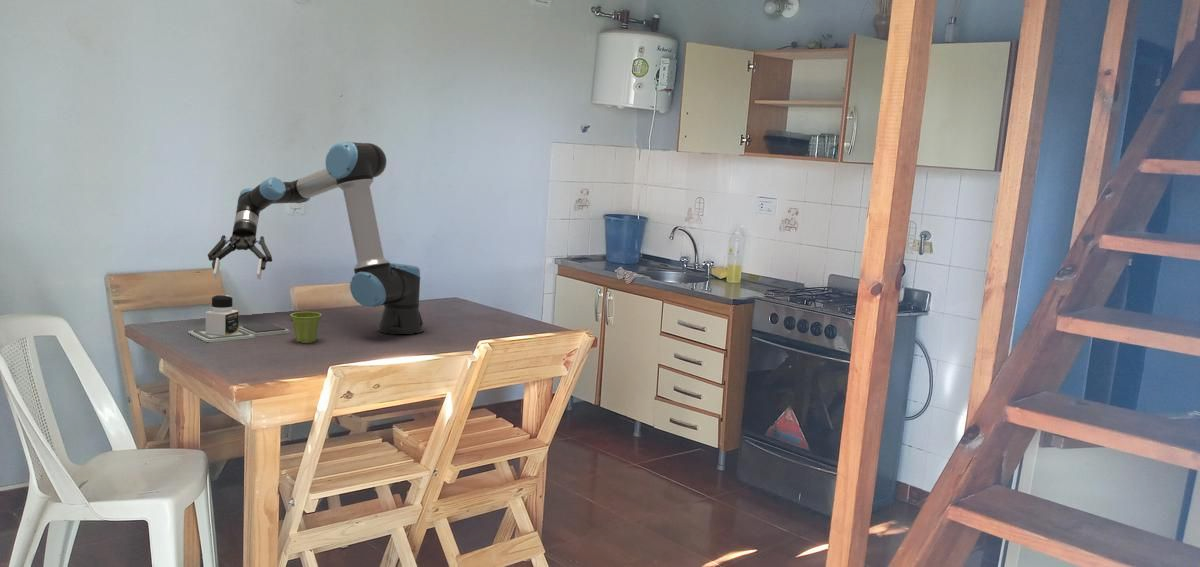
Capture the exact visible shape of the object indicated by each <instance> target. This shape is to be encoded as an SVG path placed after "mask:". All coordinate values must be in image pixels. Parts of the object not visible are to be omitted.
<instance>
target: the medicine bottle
mask: <svg viewBox="0 0 1200 567" xmlns="http://www.w3.org/2000/svg"><path fill="white" fill-rule="evenodd" d="M211 309H212V310H209V311H205V329H206V334H211V335H221V336H227V335H230V334H233V333H237V332H238V327H239V310H238V309H237V310H236V309H233V297H232V296H231V295H228V294H218V295H214V296H212V297H211Z"/></svg>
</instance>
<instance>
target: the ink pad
mask: <svg viewBox="0 0 1200 567" xmlns="http://www.w3.org/2000/svg"><path fill="white" fill-rule="evenodd" d="M238 328H239V329H241V330H243V331H246V332H248V333H250V334H253V335H255V338H256V337H266V336H267V337H268V336H273V335H274V336H275V335H284V334H285V335H286V334H290V333H291V330H290V329H287V328H285V327H283V326H281V325H278V324H275V323H272V322H270V323H260V324H251V325H249V324H248V325H242V326H238Z"/></svg>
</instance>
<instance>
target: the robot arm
mask: <svg viewBox="0 0 1200 567" xmlns="http://www.w3.org/2000/svg"><path fill="white" fill-rule="evenodd" d="M328 150H329V151H328V152H327V154H326V157H325V168H322V169H321V170H318V171H315V172H314V173H311V174H308V175H306V176H303V177H300V178H298V179H296V180H293V181H282V180H281V179H280V178H277V177H275V176H272V177H269V178H267V179H265V180H263V181H262V182H261V183H260V184H258V185H257V186H256V187H254V188H252V187H248V188H244V189H242V190H240V193H239V196H238V198H237V206H236V210H235V211H236V212H235V216H234V223H233V228H232V229H233V230H232V233H231V234H232V235H231V237H227V236H226V235H224V234H223V235H222V236H221V237H220V240H219V241H218V242H217V243H216V245H215V246H214V247H213V248H212V249H211V250H210V251H209V252H208V254H207V258H208V261H209V262H210V261H211V262H212V263H211V267H212V269H213V277H214V278H215V279H218V277H219V270H220V266H221V262H220V261H221V260H222V259H224V258H225V257H226V256H228V255H229V254H231V253H232V252H234V251H236V250H237V251H242V250H243V251H247V250H250V251H251V252H252V253H253V254H254V255H255V256H256V257H257V258H258V264H257V265H258V266H257V271H256V276H257V279H258V280H261V277H262V272H263V271H265V270H266V267H267V266H266V265H267V263H268V262H270V263H271V262H273V258H272V254H271V252H270V250H269V248H268V246H267V245H266V242H265V237H264V236H262V235H261V236H260V237H257V231H258V230H257V229H258V226H259V224H258V223H259V218H260V213H261V212H262V211H263V210H265V209H266V208H267V207H269V206H271V205H275V204H302V203H306V202H309V200H310V199H312V198H313V197H316V196H318V195H322V194H323V193H326V192H329V191H332V190H335V189H338V188H339V189H340V190H341V191H343V192H342V193H343V197H344V201H345V208H346V211H347V215H348V221H349V222H348V223H349V227H350V232H351V236H352V241H353V247H354V251H355V252H354V253H355V256H356V261H357V263H356V264H355V266H354V267H353V273H354V275H352V278H351V280H350V283H349V288H350V293H351V295H352V296H351V297H353V299H354V300H355V301H356V303H358V304H359V305H361V306H363V307H366V308H371V307H372V308H376V307H380V306H384V307H383V311H382V314H381V316H380V319H379V322H378V325H377V329H378V330H377V331H378V332H380V333H382V332H383V334H387V333H389V334H388V335H395V334H411V335H415V334H414V333H418V334H421V333H423V332H424V323H423V319H422V316H421V312H420V292H421V291H420V288H421V287H420V286H421V283H420V282H421V270H420V268H419V267H418V266H417V265H411V264H405V263H404V264H403V263H394V262H393V263H392V262H390V261H389V260H388V259H386V258H385V257H384V252H383V245H382V242H381V236H380V232H379V225H378V222H377V217H376V216H377V215H376V212H375V206H374V203H373V195H372V191H371V185H372V184H373V182H374V178H376V177H377V178H378V177H379V176H381V175H382V174H383V173H384V171H385V169H386V168H387V167H386V166H387V156H386V154H385V151H384V150H383V149H382V148H381V147H379V146H378V145H377V144H374V143H372V142H371V143H369V142H353V141H345V142H338V143H335V144H333V145H332V146H331V147H330V148H329V149H328ZM257 243H258V245H260V246H261V250H262V251H263V252H264V253H263V252H262V251H261V250H260V249H258V247H257V246H256V245H255V244H257ZM226 245H227V246H226ZM422 331H423V332H422ZM420 332H421V333H420Z"/></svg>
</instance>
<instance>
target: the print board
mask: <svg viewBox="0 0 1200 567" xmlns="http://www.w3.org/2000/svg"><path fill="white" fill-rule="evenodd" d="M188 333H189V334H188ZM187 334H188V335H190V334H191V335H190V336H192V335H193V336H192V337H194V336H195V337H194V338H196V337H197V338H196V339H198V338H199V339H198V340H200V339H201V341H202V340H203V342H204V341H205V343H206V342H209V343H218V342H228V341H229V342H230V341H237V340H245V339H246V340H248V339H255V338H256V337H255V335H253V334H250V333H248V332H246V331H243V330H241V329H239V328H238V332H237V333H233V334H230V335H227V336H221V335H211V334H206V328H205V329H203V328H202V329H196V330H195V329H194V330H188V331H187Z"/></svg>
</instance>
